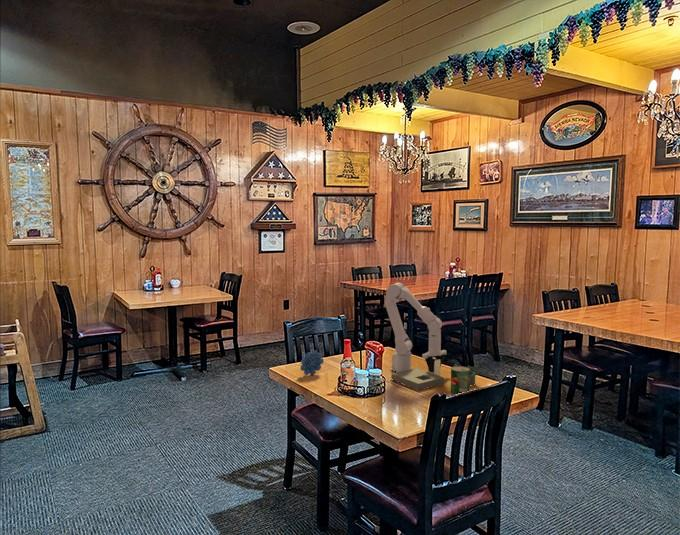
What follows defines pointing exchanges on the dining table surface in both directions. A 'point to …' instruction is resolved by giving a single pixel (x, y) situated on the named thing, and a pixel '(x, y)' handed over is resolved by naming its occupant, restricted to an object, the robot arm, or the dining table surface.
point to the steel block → (436, 367)
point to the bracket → (472, 375)
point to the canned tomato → (459, 379)
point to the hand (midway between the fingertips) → (434, 371)
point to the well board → (417, 378)
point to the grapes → (311, 362)
